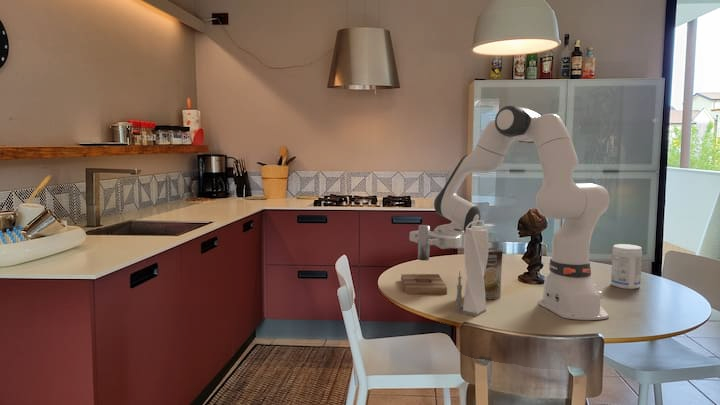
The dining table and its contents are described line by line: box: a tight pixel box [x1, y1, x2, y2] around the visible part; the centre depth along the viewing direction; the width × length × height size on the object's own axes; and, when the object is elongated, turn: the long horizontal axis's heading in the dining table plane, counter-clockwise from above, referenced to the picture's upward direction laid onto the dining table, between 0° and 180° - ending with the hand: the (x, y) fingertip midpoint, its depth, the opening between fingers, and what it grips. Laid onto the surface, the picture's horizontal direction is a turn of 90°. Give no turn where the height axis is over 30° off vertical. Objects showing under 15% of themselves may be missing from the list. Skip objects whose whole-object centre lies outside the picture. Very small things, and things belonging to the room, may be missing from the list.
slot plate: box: [400, 273, 448, 295], centre depth 188 cm, size 18×14×2 cm
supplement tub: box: [610, 243, 643, 290], centre depth 190 cm, size 10×10×15 cm
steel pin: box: [417, 224, 431, 261], centre depth 186 cm, size 4×4×12 cm
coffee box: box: [483, 247, 503, 301], centre depth 175 cm, size 9×6×16 cm
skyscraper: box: [454, 219, 490, 317], centre depth 159 cm, size 8×8×28 cm
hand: (422, 241), depth 185 cm, fingers closed on steel pin, 4 cm apart
